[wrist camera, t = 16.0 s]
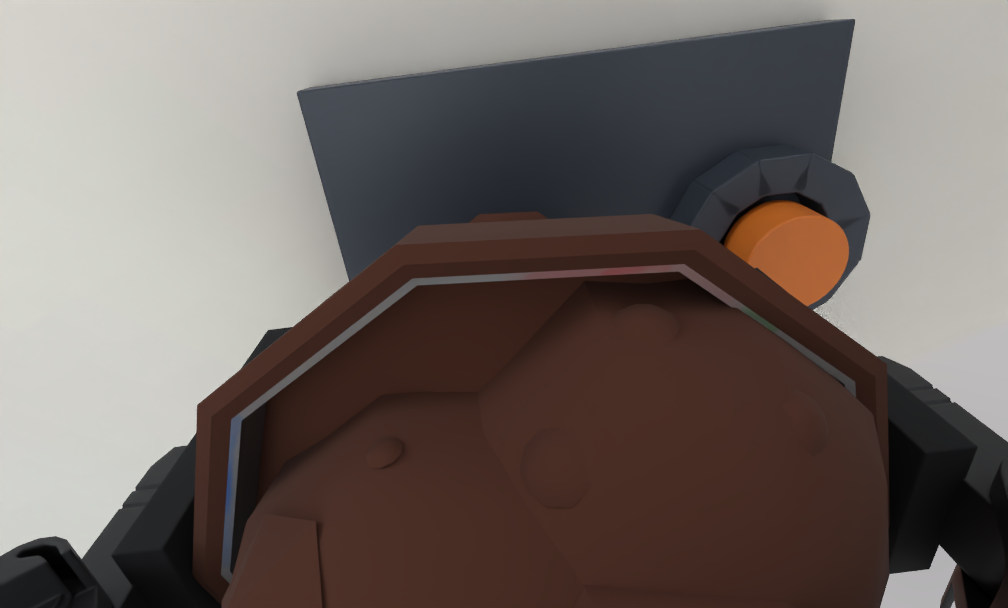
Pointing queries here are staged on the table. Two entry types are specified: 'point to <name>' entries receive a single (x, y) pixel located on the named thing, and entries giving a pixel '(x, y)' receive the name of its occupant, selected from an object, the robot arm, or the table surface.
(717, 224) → the scale
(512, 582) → the ice cream bowl
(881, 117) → the table surface
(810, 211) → the button
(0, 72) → the table surface
